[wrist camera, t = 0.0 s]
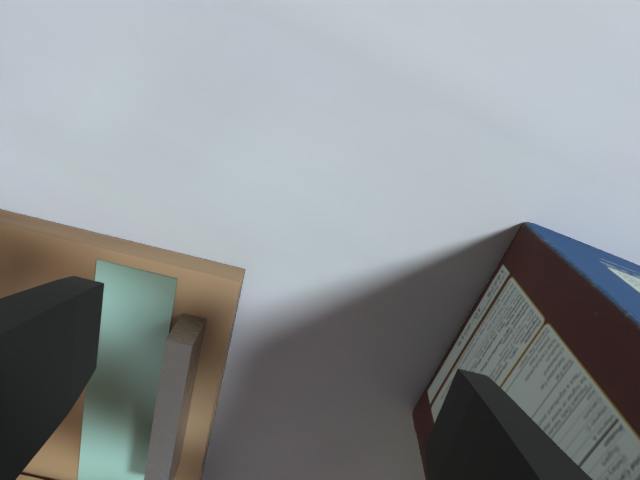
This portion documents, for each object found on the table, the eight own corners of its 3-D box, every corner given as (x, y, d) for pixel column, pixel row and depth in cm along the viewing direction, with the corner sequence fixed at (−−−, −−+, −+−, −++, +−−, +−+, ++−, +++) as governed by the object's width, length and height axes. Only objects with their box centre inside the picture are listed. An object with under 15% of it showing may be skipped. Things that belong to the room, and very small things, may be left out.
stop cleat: (179, 464, 22) (164, 501, 21) (158, 459, 22) (141, 495, 21) (206, 319, 20) (192, 346, 18) (182, 313, 20) (165, 339, 18)
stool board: (184, 558, 26) (176, 583, 25) (-147, 486, 26) (-172, 507, 24) (245, 269, 20) (239, 282, 19) (-193, 161, 19) (-229, 168, 18)
